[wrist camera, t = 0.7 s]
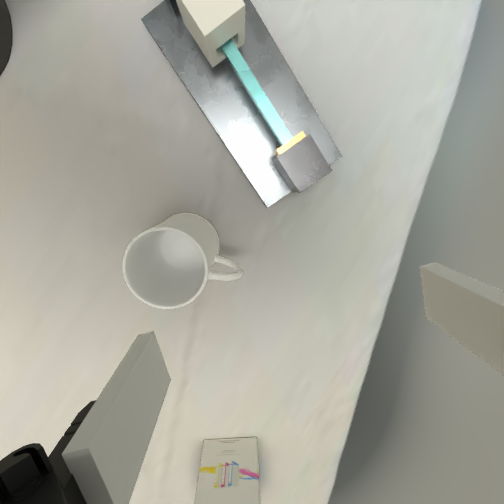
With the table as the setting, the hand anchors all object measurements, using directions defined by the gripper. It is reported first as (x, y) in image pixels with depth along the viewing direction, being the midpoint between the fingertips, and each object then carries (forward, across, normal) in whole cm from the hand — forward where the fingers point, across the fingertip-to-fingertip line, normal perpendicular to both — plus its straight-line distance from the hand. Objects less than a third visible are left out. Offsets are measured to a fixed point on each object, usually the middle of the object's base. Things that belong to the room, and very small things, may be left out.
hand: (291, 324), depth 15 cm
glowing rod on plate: (+27, +3, +17) cm, 32 cm away
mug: (+27, -8, 0) cm, 28 cm away
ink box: (+26, -12, -34) cm, 45 cm away
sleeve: (+23, 0, +22) cm, 32 cm away
